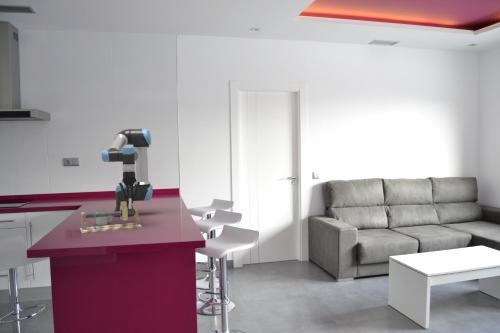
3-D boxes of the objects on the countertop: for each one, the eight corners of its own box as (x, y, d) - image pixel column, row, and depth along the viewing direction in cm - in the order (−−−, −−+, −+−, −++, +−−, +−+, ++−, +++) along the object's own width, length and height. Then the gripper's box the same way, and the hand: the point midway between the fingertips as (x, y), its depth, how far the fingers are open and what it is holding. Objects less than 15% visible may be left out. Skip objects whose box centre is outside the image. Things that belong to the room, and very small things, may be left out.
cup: (96, 223, 254) (96, 210, 253) (112, 222, 257) (112, 209, 256) (95, 225, 247) (95, 211, 246) (112, 224, 250) (112, 211, 249)
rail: (82, 233, 222) (81, 214, 222) (80, 230, 233) (79, 211, 232) (141, 227, 239) (141, 209, 238) (136, 224, 249) (136, 207, 249)
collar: (122, 220, 235) (122, 202, 235) (120, 218, 242) (119, 201, 242) (127, 220, 236) (127, 202, 236) (125, 218, 243) (124, 201, 243)
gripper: (119, 171, 234) (120, 210, 234) (140, 171, 240) (141, 208, 241) (117, 171, 240) (117, 208, 241) (138, 170, 247) (138, 207, 247)
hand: (129, 208), depth 241 cm, fingers closed
